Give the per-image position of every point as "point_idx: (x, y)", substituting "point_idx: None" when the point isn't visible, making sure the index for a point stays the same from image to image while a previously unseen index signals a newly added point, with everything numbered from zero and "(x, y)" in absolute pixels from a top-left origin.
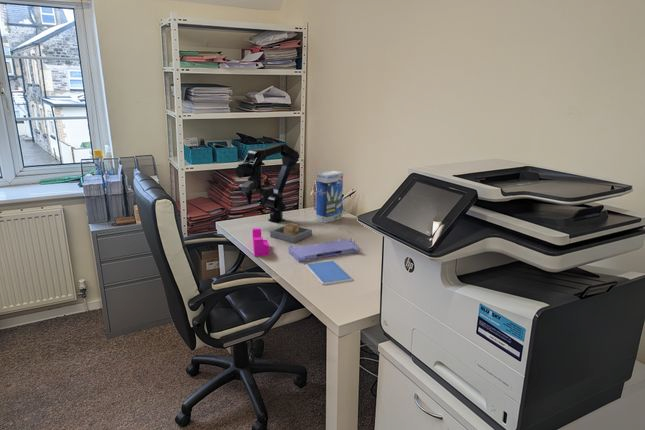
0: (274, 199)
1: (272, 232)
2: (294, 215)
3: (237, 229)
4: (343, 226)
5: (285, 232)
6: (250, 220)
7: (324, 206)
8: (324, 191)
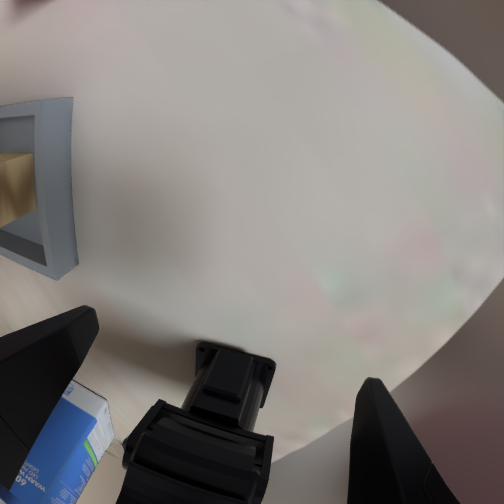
0: (127, 471)
1: (39, 100)
2: None
3: (374, 83)
4: None
5: (11, 157)
6: (392, 325)
7: None
8: None
